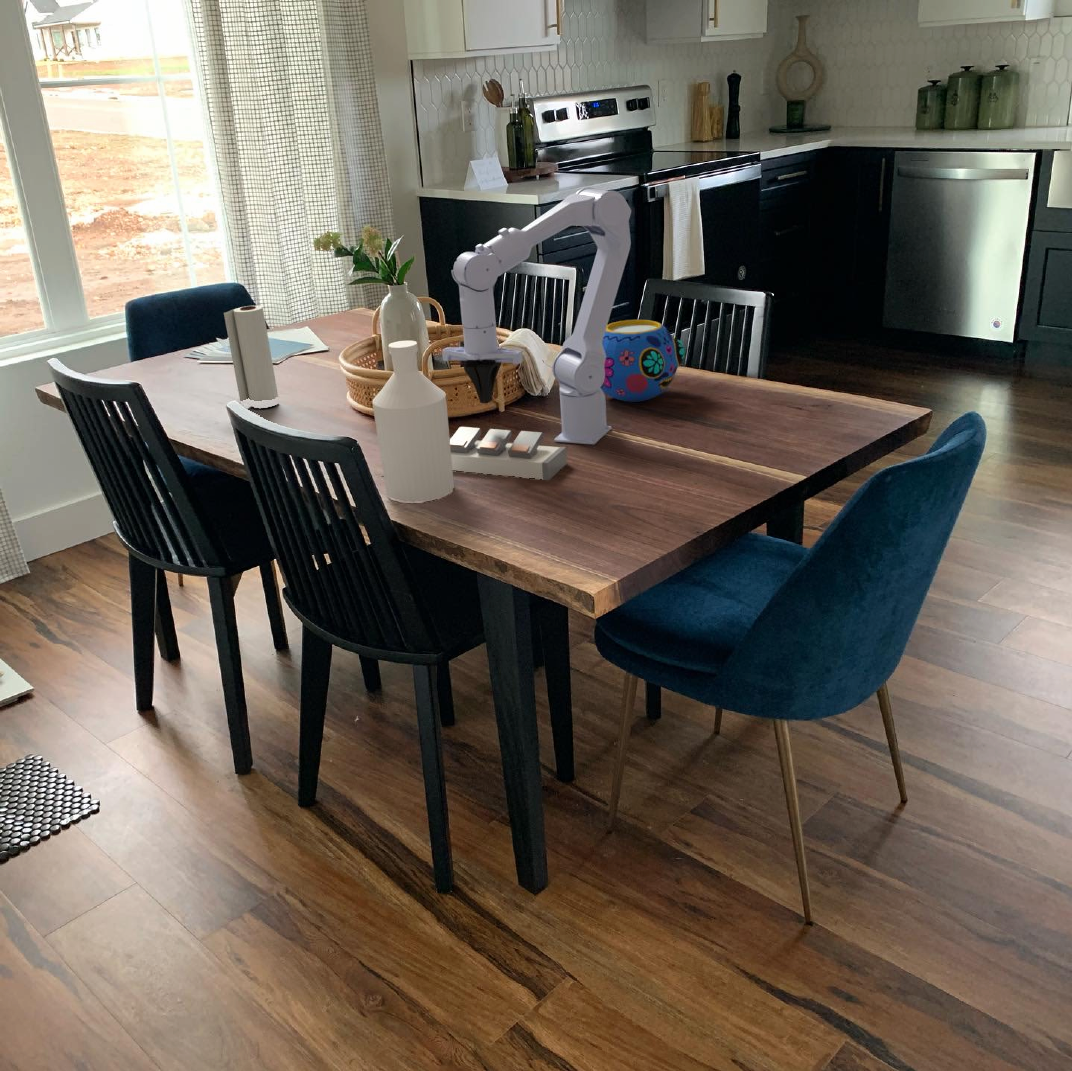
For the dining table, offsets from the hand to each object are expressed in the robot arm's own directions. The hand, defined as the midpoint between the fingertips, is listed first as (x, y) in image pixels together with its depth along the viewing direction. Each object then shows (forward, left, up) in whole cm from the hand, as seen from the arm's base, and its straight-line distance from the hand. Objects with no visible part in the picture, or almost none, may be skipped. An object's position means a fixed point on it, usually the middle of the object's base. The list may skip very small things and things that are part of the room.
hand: (486, 401), depth 188 cm
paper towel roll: (-18, -64, -11) cm, 67 cm away
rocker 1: (+4, -3, -6) cm, 8 cm away
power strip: (+4, 0, -10) cm, 11 cm away
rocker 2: (+4, +3, -6) cm, 8 cm away
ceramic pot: (-39, +14, -11) cm, 43 cm away
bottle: (+18, -5, -11) cm, 21 cm away
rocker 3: (+4, +9, -6) cm, 11 cm away
